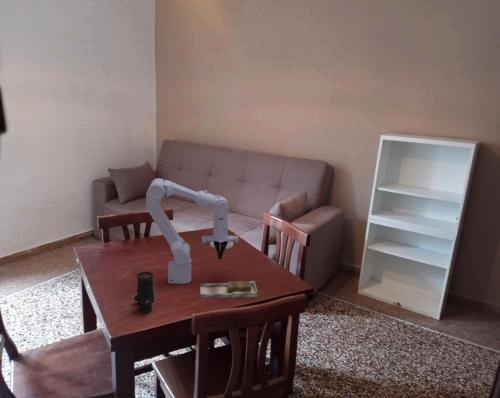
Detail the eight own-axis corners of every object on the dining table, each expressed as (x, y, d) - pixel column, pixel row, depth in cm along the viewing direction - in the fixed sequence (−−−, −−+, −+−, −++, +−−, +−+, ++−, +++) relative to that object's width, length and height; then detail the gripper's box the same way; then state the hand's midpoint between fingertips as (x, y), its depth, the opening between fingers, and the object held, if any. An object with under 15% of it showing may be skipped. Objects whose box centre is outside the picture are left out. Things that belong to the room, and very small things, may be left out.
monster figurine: (219, 251, 192) (220, 231, 189) (205, 243, 200) (205, 225, 197) (238, 245, 200) (238, 227, 197) (223, 238, 208) (224, 220, 205)
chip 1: (227, 294, 150) (228, 287, 150) (227, 288, 155) (227, 281, 154) (239, 294, 151) (239, 287, 150) (238, 288, 155) (238, 281, 154)
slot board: (200, 299, 147) (200, 293, 146) (200, 287, 156) (200, 281, 155) (257, 298, 150) (257, 292, 149) (254, 286, 159) (254, 281, 158)
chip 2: (239, 294, 151) (239, 287, 150) (238, 288, 155) (238, 281, 154) (250, 293, 152) (251, 286, 151) (249, 288, 156) (250, 281, 155)
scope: (154, 265, 142) (159, 278, 133) (154, 299, 146) (160, 313, 137) (130, 268, 139) (134, 281, 130) (132, 303, 143) (136, 317, 134)
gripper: (202, 230, 151) (202, 262, 155) (239, 230, 153) (238, 261, 156) (202, 224, 158) (202, 255, 161) (237, 224, 159) (236, 254, 163)
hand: (219, 258), depth 159 cm, fingers closed
